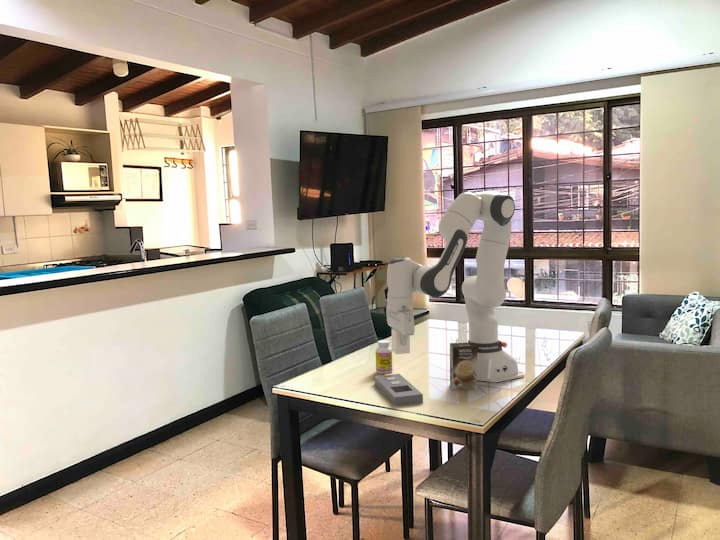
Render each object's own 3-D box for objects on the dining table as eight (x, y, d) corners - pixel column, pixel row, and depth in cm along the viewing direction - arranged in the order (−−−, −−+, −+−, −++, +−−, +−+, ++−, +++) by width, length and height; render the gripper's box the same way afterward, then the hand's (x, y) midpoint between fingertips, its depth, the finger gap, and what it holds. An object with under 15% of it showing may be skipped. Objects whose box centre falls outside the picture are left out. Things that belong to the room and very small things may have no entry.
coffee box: (452, 390, 207) (452, 347, 206) (449, 385, 214) (448, 343, 212) (478, 389, 208) (477, 346, 206) (473, 384, 214) (473, 342, 212)
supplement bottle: (378, 375, 229) (377, 343, 228) (374, 370, 236) (373, 340, 234) (394, 373, 231) (393, 342, 230) (389, 369, 238) (388, 338, 236)
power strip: (399, 381, 220) (399, 372, 220) (422, 402, 195) (422, 392, 195) (374, 383, 218) (374, 374, 218) (394, 405, 193) (394, 395, 193)
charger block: (405, 349, 203) (404, 324, 202) (409, 353, 198) (409, 326, 197) (391, 350, 202) (391, 325, 201) (396, 354, 197) (395, 328, 196)
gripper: (419, 308, 189) (419, 349, 190) (399, 299, 209) (400, 336, 210) (400, 309, 187) (401, 350, 189) (383, 300, 207) (383, 337, 209)
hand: (400, 343), depth 200 cm, fingers closed on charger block, 5 cm apart
